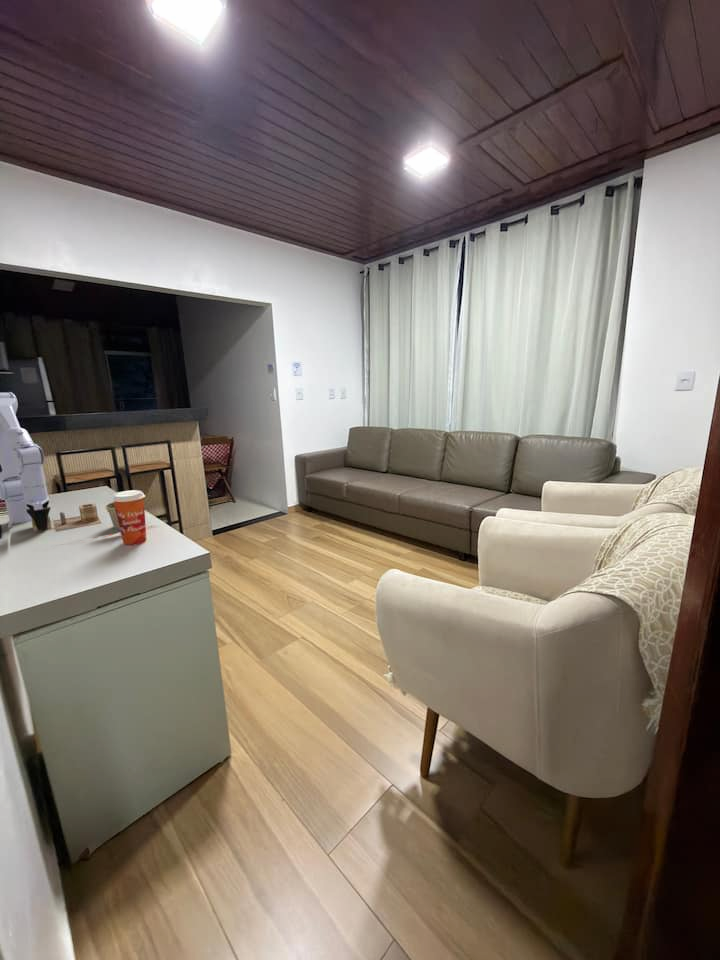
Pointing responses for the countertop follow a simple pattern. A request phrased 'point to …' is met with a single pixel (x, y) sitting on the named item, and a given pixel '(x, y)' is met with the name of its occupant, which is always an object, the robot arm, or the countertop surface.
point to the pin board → (72, 523)
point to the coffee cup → (131, 516)
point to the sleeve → (36, 527)
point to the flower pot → (113, 514)
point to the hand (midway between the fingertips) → (42, 526)
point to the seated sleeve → (88, 512)
